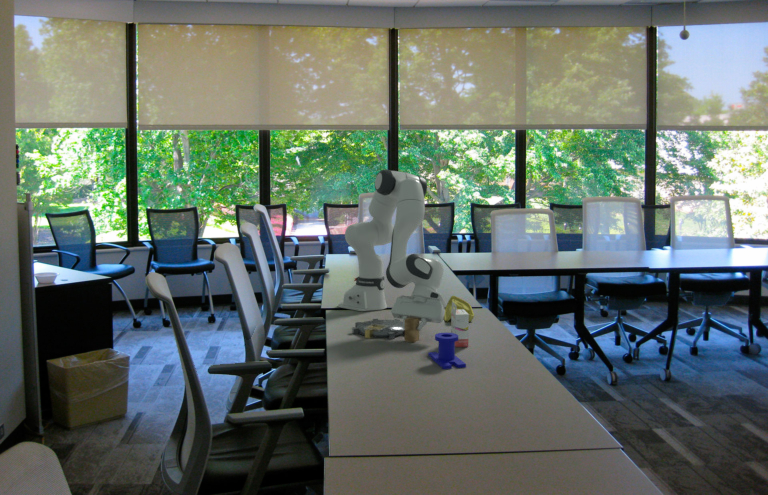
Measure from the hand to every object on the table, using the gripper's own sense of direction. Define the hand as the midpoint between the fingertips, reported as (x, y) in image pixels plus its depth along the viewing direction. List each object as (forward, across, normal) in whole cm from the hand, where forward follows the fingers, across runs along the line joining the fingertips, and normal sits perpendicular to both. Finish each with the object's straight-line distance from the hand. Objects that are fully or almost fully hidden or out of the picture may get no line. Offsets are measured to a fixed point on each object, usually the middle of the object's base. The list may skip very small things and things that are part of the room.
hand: (411, 329), depth 224 cm
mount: (+15, +21, -8) cm, 27 cm away
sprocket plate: (-2, -16, +8) cm, 18 cm away
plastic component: (-27, +1, +34) cm, 43 cm away
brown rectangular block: (+3, 0, +4) cm, 4 cm away
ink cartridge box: (0, +17, +7) cm, 18 cm away
